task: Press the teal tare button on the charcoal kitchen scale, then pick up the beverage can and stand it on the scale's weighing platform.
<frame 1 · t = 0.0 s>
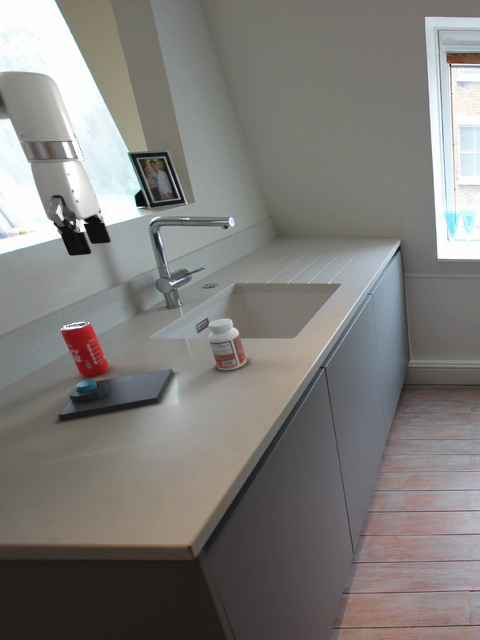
hand: (91, 248, 85), 30 cm above the worktop, tool pointing down, fingers open, 9 cm apart
scale: (122, 395, 94), on the worktop
pill bottle: (232, 365, 105), on the worktop
beverage can: (96, 373, 103), on the worktop
tare button: (86, 386, 91), point 3 cm above the worktop, slide at 0.1 cm
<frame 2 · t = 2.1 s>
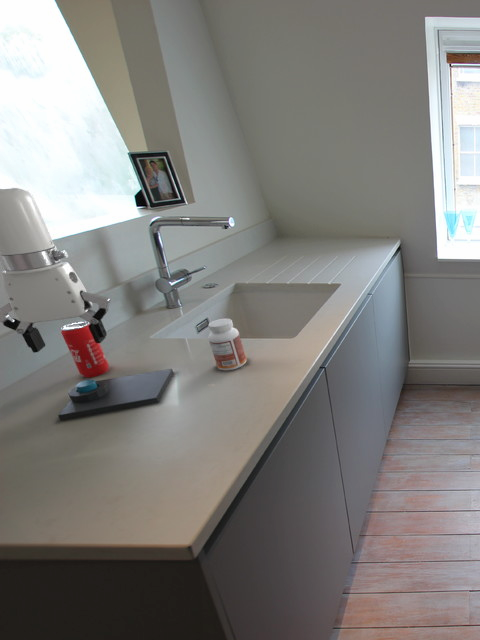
hand: (71, 344, 87), 13 cm above the worktop, tool pointing down, fingers open, 9 cm apart
nothing on the worktop moved.
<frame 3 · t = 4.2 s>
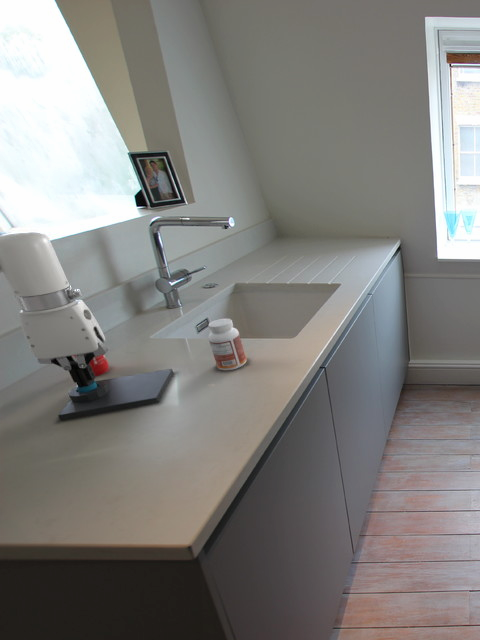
hand: (86, 383, 90), 4 cm above the worktop, tool pointing down, fingers closed
tare button: (87, 387, 91), point 3 cm above the worktop, slide at 0.0 cm, touching gripper
everything else where it was.
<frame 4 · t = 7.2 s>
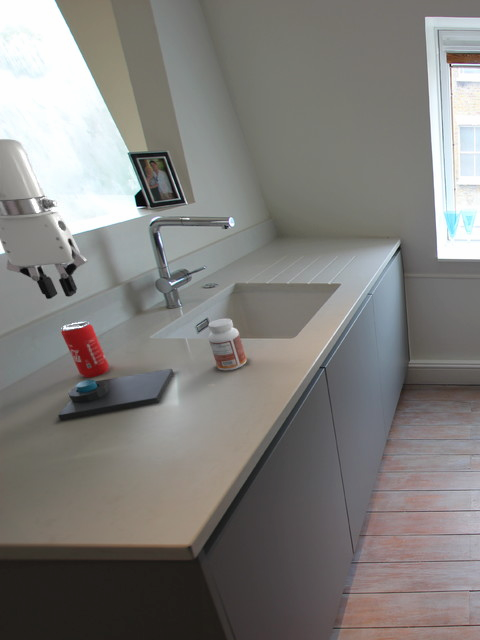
hand: (61, 295, 95), 19 cm above the worktop, tool pointing down, fingers closed
tare button: (86, 386, 91), point 3 cm above the worktop, slide at 0.1 cm
everything else where it was.
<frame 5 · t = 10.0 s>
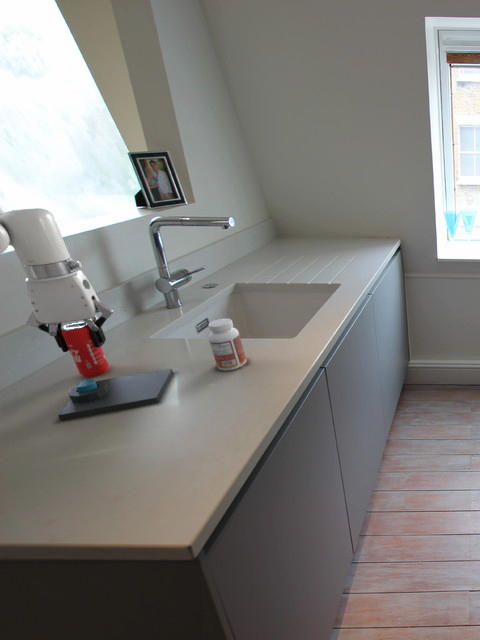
hand: (84, 346, 100), 7 cm above the worktop, tool pointing down, fingers closed on beverage can, 5 cm apart
beverage can: (96, 373, 103), on the worktop, touching gripper
everything else where it was.
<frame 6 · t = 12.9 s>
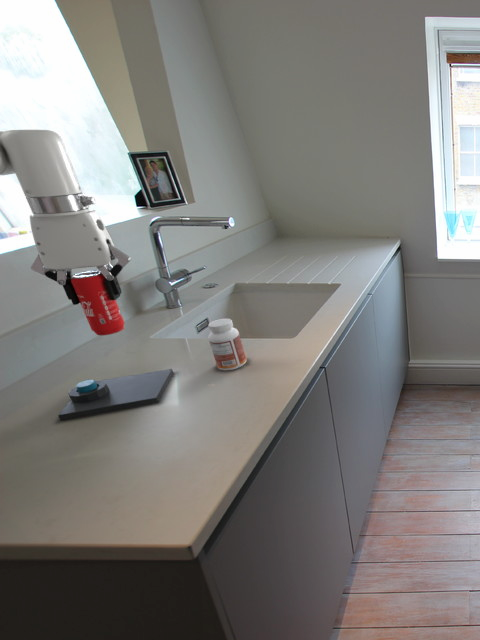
hand: (97, 299, 87), 21 cm above the worktop, tool pointing down, fingers closed on beverage can, 5 cm apart
beverage can: (110, 331, 90), point 14 cm above the worktop, touching gripper
everything else where it was.
when the fingers open (8 cm above the worktop, at t = 16.2 s): beverage can stays where it is, resting on scale.
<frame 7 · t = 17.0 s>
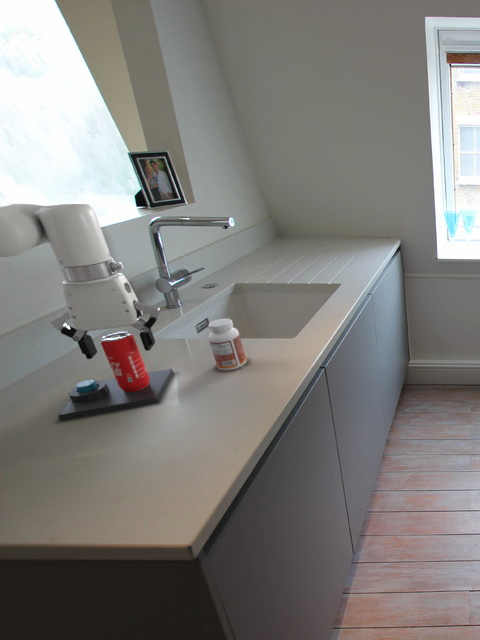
hand: (121, 351, 90), 10 cm above the worktop, tool pointing down, fingers open, 9 cm apart
beverage can: (136, 387, 94), point 1 cm above the worktop, touching scale
everything else where it was.
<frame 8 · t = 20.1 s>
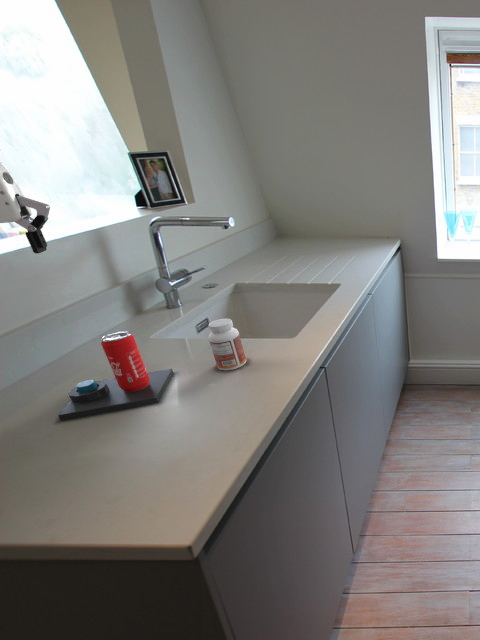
hand: (7, 254, 82), 30 cm above the worktop, tool pointing down, fingers open, 9 cm apart
nothing on the worktop moved.
at the end: tare button pushed in 0.9 cm at the most during the clip, back to where it started at the end; beverage can inside the target area on the scale (2.1 cm from its centre), point 1.2 cm above the scale's base; beverage can tilted 0° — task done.
